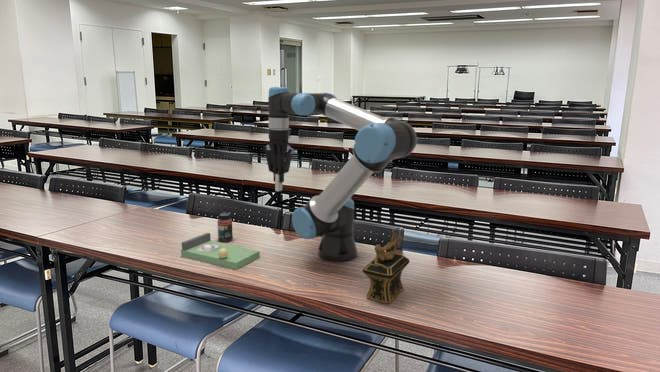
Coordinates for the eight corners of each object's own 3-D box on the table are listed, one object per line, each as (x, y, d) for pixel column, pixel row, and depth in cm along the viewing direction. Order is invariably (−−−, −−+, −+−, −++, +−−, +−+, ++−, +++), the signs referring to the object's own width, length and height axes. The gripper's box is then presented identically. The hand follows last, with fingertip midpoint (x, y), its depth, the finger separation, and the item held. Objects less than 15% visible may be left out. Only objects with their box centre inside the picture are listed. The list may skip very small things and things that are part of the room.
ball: (211, 242, 180) (205, 246, 182) (205, 244, 177) (199, 248, 178) (216, 250, 180) (210, 254, 181) (209, 252, 176) (203, 256, 178)
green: (259, 257, 177) (259, 243, 176) (236, 269, 165) (235, 254, 163) (206, 245, 188) (206, 232, 187) (181, 256, 176) (180, 242, 175)
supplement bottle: (226, 237, 199) (225, 211, 197) (235, 240, 196) (235, 214, 193) (215, 240, 195) (214, 214, 193) (224, 243, 191) (223, 216, 189)
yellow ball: (230, 257, 169) (230, 247, 169) (223, 260, 166) (223, 250, 165) (222, 255, 171) (222, 246, 170) (216, 258, 168) (215, 249, 167)
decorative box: (389, 308, 139) (393, 245, 135) (360, 300, 143) (363, 239, 139) (412, 284, 156) (416, 228, 152) (385, 278, 161) (388, 223, 156)
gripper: (298, 129, 175) (298, 190, 180) (270, 127, 181) (270, 186, 186) (288, 130, 168) (287, 194, 173) (258, 128, 174) (259, 190, 179)
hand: (278, 190), depth 179 cm, fingers closed
